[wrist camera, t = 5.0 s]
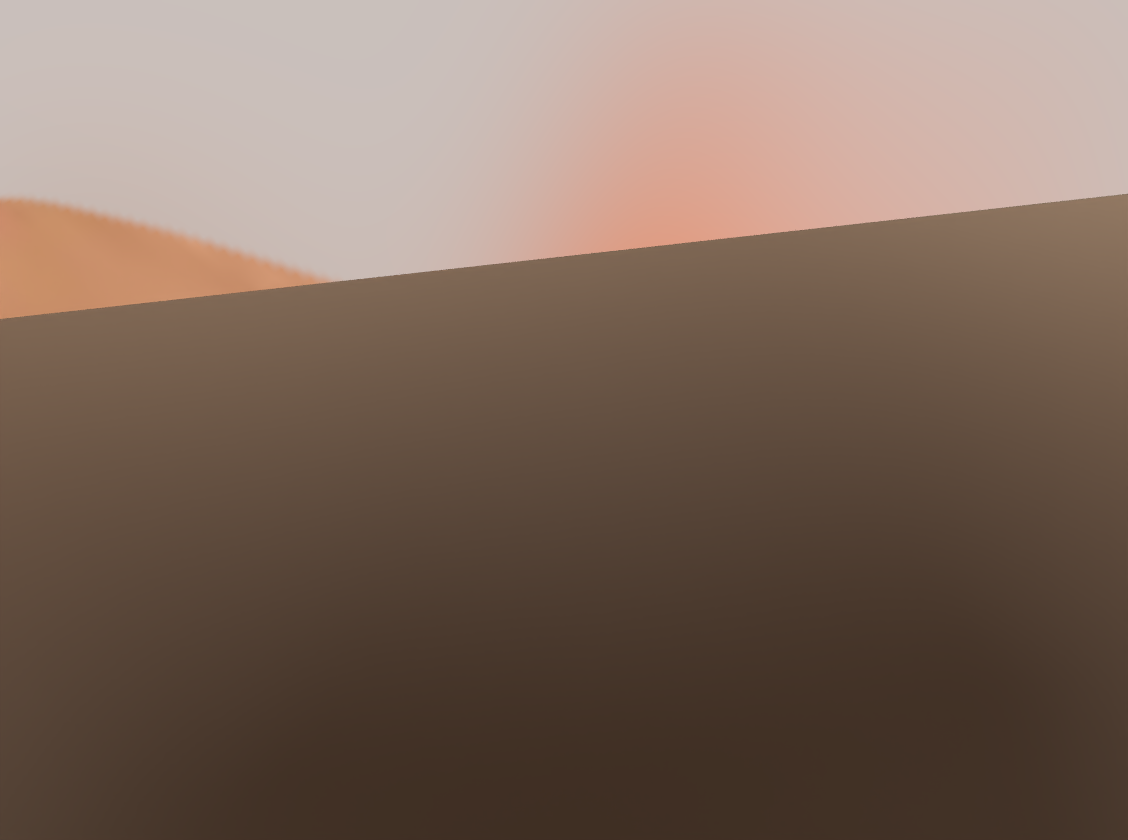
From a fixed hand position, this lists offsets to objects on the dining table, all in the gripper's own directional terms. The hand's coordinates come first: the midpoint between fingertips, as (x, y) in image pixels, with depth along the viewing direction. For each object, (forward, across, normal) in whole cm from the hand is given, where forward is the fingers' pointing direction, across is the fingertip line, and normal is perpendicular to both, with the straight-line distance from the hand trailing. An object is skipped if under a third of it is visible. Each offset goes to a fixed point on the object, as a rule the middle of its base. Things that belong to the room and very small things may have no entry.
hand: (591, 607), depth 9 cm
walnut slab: (+4, 0, +6) cm, 7 cm away
